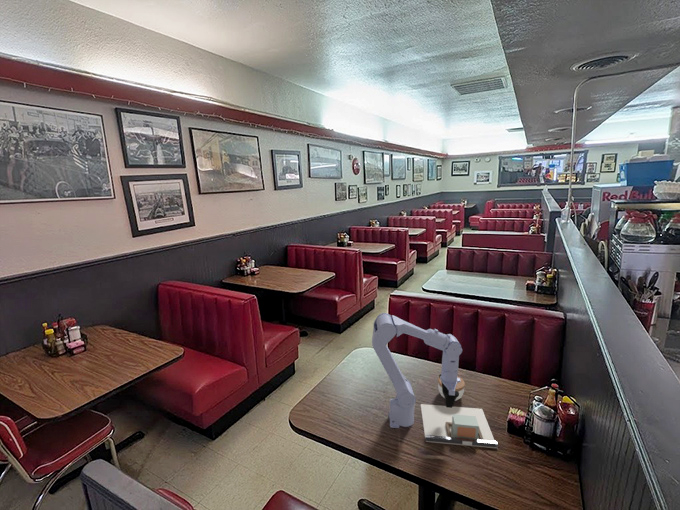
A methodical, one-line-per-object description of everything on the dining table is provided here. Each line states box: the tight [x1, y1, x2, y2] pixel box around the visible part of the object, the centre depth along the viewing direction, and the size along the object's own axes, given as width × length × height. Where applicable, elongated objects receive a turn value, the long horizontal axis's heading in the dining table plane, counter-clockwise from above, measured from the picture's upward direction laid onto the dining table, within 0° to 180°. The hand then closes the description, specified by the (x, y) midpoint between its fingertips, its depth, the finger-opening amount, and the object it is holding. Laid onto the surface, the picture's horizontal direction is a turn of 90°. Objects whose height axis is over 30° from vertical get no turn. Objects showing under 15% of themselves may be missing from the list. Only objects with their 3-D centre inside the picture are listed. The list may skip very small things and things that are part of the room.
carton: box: [452, 414, 479, 439], centre depth 119 cm, size 5×8×6 cm, turn 81°
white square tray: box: [420, 403, 499, 449], centre depth 125 cm, size 24×20×2 cm
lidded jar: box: [437, 376, 466, 402], centre depth 141 cm, size 11×11×9 cm
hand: (447, 400), depth 126 cm, fingers open, 7 cm apart
